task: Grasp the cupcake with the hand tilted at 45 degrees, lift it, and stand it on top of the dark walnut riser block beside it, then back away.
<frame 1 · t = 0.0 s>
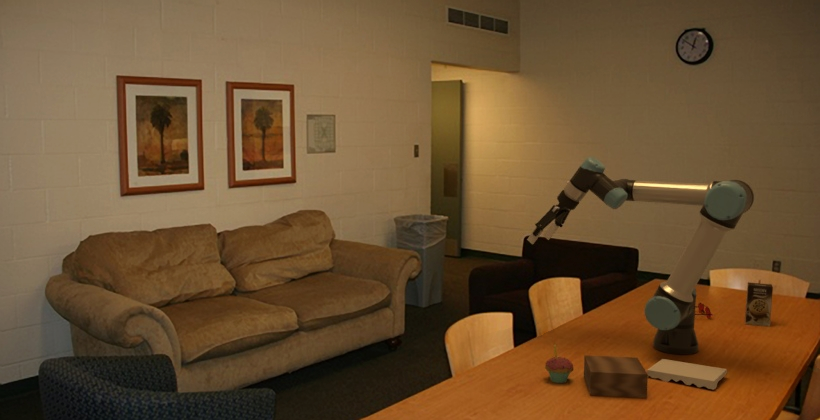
hand: (538, 239, 278), 36 cm above the table, tool tilted 35°, fingers open, 13 cm apart
cupcake: (558, 381, 231), on the table
cookie box: (757, 324, 301), on the table
riser: (614, 387, 225), on the table
glasses: (686, 316, 313), on the table
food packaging: (686, 380, 235), on the table
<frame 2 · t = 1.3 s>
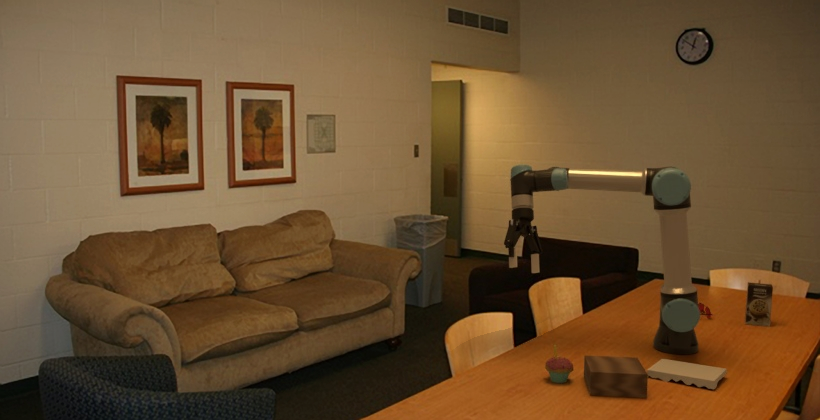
hand: (524, 270, 254), 29 cm above the table, tool tilted 20°, fingers open, 13 cm apart
nothing on the table moved.
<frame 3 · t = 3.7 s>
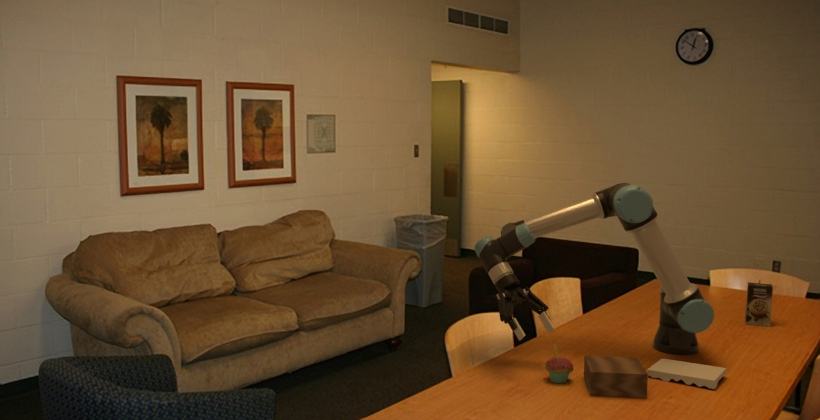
hand: (537, 334, 236), 13 cm above the table, tool tilted 45°, fingers open, 13 cm apart
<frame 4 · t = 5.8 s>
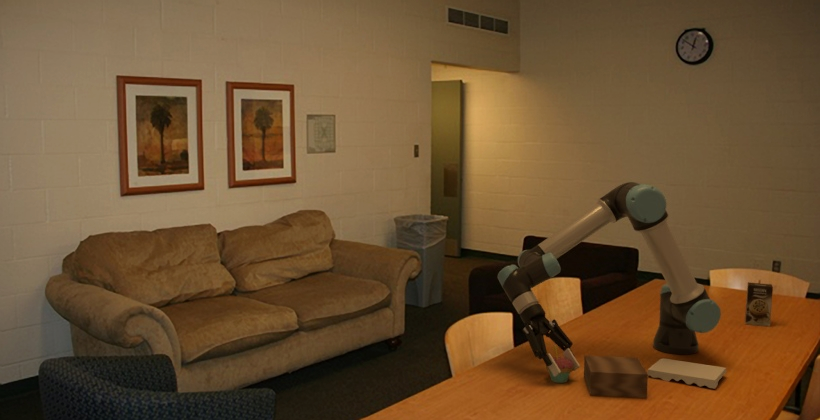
hand: (567, 371, 228), 4 cm above the table, tool tilted 45°, fingers closed on cupcake, 8 cm apart
cupcake: (559, 380, 231), on the table, touching gripper
everything else where it was.
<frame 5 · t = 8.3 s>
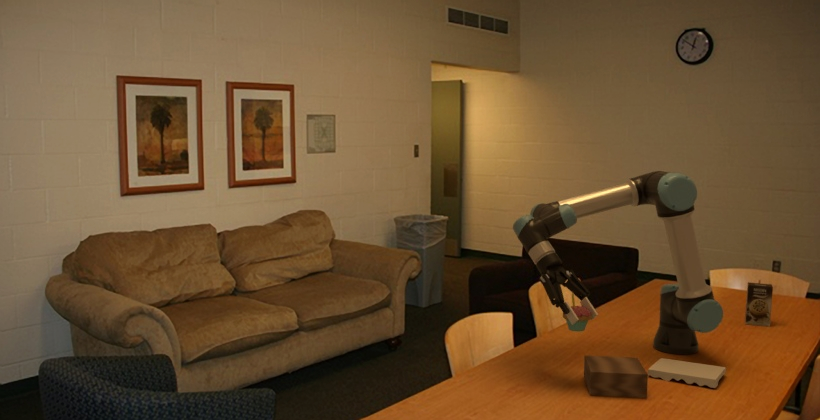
hand: (585, 319, 224), 20 cm above the table, tool tilted 45°, fingers closed on cupcake, 8 cm apart
cupcake: (576, 330, 227), point 16 cm above the table, touching gripper
when the fingers open (12 cm above the table, at t = 11.0 s): cupcake drops 1 cm, resting on riser.
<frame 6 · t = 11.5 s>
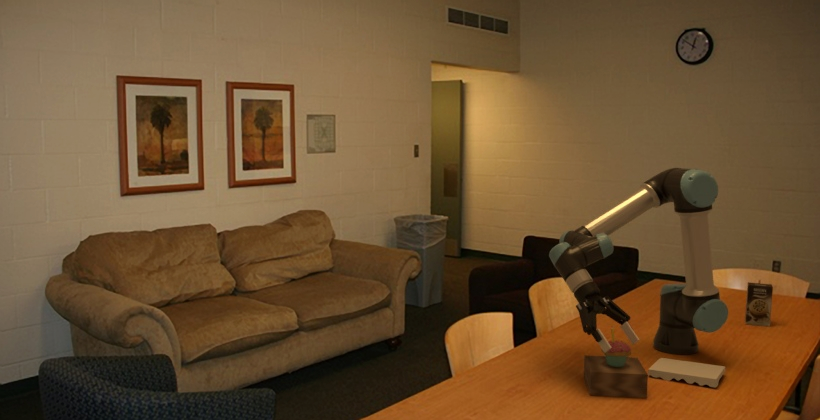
hand: (622, 346, 222), 13 cm above the table, tool tilted 45°, fingers open, 13 cm apart
cupcake: (615, 365, 225), point 7 cm above the table, touching riser
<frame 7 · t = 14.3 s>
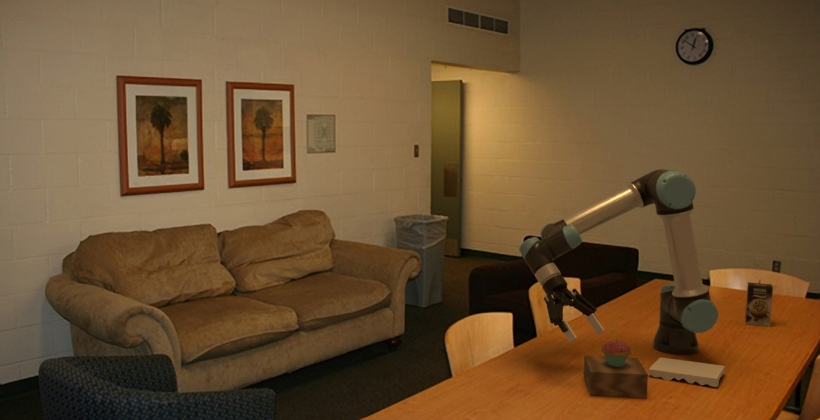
hand: (587, 336, 232), 13 cm above the table, tool tilted 45°, fingers open, 13 cm apart
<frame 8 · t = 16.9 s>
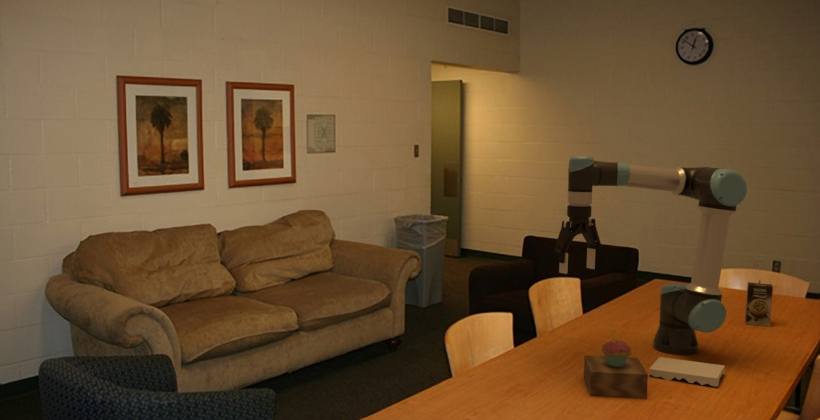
hand: (577, 270, 241), 32 cm above the table, tool pointing down, fingers open, 13 cm apart
at the end: cupcake inside the target area on the riser (0.2 cm from its centre), point 6.8 cm above the riser's base; cupcake tilted 0°; the gripper is holding nothing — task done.
